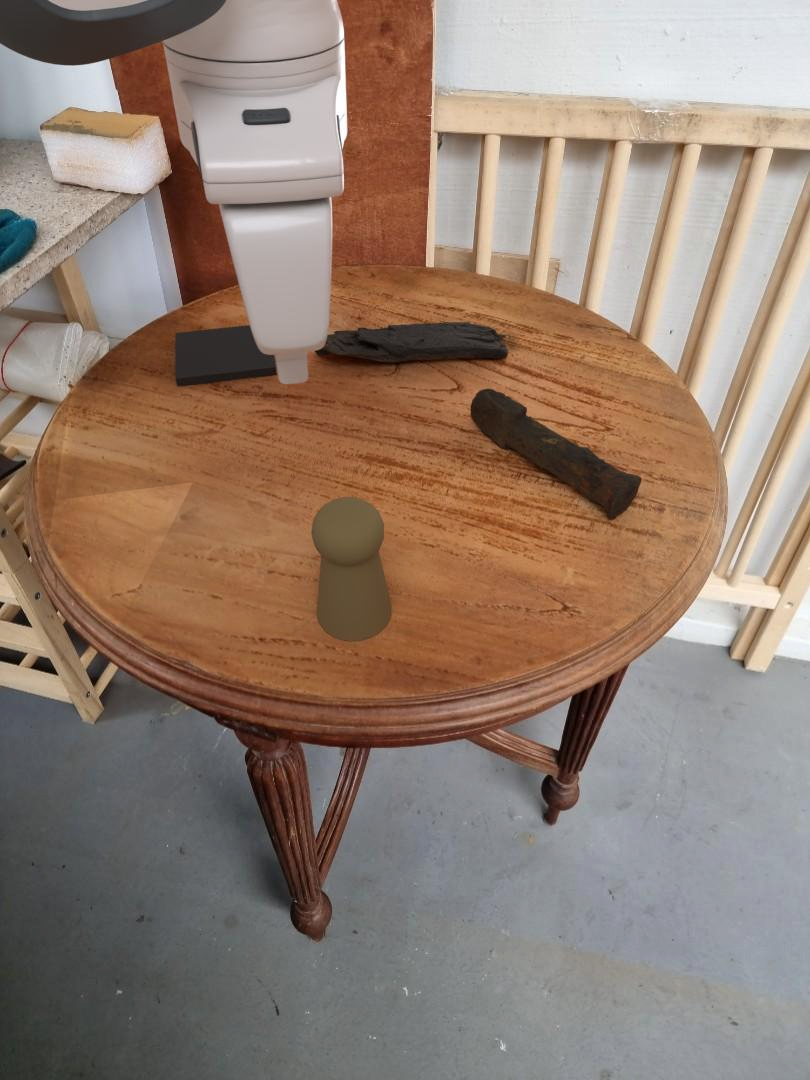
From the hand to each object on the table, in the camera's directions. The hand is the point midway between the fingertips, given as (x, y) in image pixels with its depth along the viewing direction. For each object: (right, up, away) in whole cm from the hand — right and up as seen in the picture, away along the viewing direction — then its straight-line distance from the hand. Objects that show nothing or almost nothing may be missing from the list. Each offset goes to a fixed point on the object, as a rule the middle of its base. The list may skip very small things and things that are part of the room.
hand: (286, 335), depth 50 cm
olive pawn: (+4, -19, +12) cm, 23 cm away
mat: (-12, +7, +36) cm, 39 cm away
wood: (+8, +8, +37) cm, 39 cm away
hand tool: (+21, -6, +24) cm, 32 cm away
